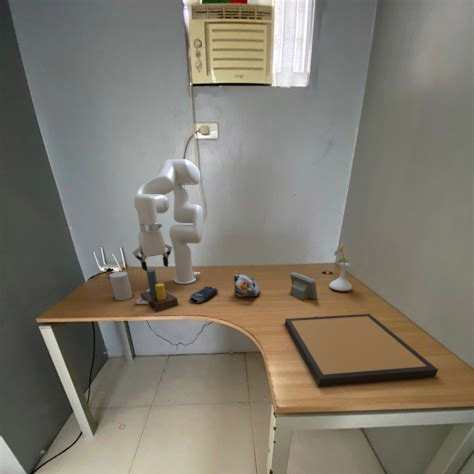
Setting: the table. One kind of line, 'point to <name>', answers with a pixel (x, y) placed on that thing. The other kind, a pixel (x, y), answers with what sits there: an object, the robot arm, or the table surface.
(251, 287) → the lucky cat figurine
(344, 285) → the flower in vase
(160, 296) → the mustard peg
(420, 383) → the table surface
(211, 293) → the electronic device
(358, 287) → the table surface
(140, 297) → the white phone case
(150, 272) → the blue peg
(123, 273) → the cup
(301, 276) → the digital clock
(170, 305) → the stand
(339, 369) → the cork board
